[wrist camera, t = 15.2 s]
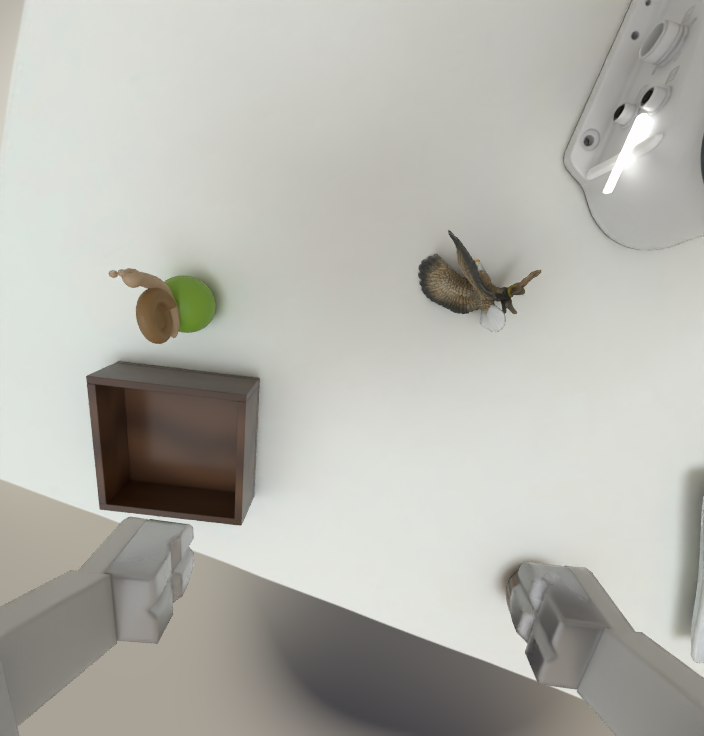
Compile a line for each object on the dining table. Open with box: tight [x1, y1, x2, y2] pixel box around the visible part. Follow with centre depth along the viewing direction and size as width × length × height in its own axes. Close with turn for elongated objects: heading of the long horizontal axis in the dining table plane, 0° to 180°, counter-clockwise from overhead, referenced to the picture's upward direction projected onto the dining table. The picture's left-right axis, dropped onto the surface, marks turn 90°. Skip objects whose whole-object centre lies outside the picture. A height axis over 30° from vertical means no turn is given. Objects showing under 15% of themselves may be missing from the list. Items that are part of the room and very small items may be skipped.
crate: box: [86, 361, 260, 525], centre depth 41 cm, size 16×16×5 cm
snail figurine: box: [109, 268, 216, 344], centre depth 32 cm, size 5×6×12 cm
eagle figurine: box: [418, 230, 541, 332], centre depth 34 cm, size 8×7×9 cm
